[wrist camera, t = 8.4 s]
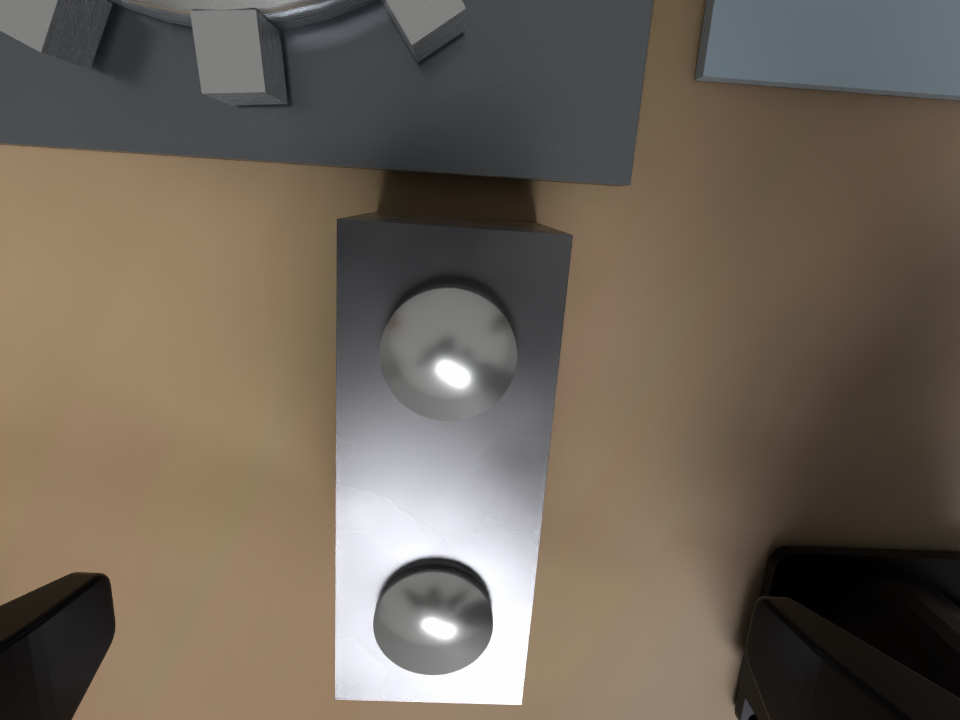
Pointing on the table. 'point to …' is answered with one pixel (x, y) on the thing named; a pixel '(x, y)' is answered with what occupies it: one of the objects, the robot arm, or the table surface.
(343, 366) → the chain link
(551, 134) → the base plate
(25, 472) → the table surface
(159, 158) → the table surface
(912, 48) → the seat pad
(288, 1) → the sprocket wheel
